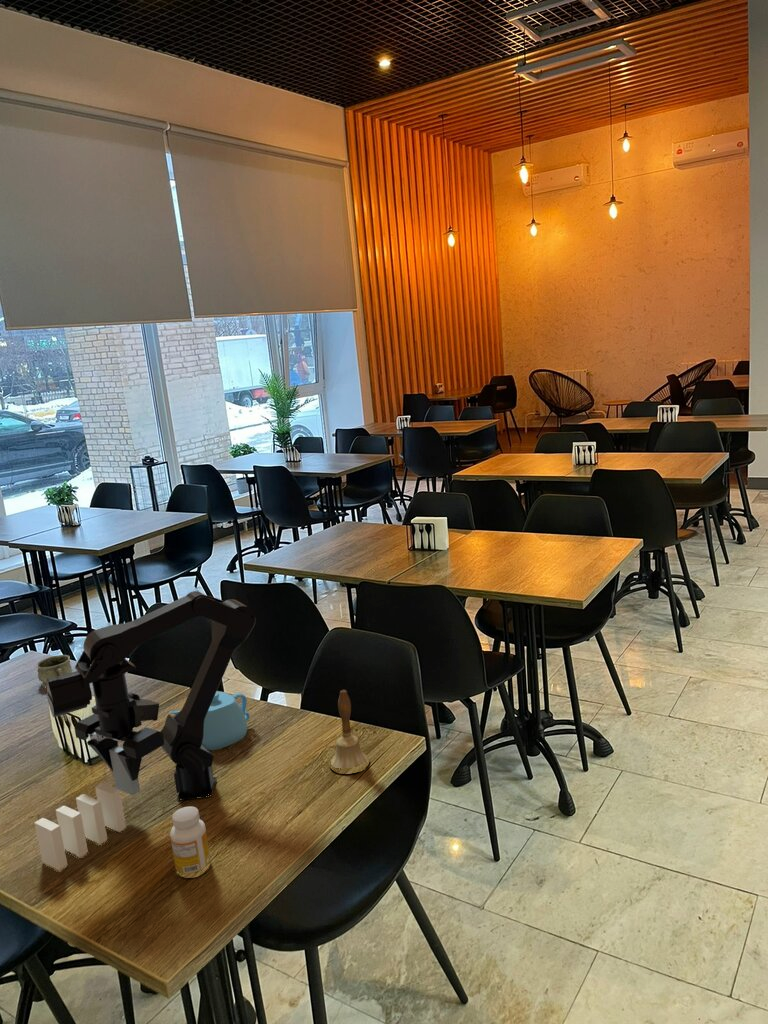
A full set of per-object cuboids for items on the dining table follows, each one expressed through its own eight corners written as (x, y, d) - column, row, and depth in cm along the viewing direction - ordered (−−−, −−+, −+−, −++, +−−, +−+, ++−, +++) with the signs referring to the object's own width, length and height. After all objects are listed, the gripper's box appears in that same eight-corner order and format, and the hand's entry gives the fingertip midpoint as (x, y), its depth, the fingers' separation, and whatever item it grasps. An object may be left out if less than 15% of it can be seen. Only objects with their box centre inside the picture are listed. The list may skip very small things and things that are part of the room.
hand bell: (345, 750, 161) (338, 679, 158) (378, 759, 156) (371, 686, 153) (320, 769, 155) (312, 696, 151) (353, 779, 150) (346, 704, 147)
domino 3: (90, 833, 140) (83, 793, 138) (107, 841, 137) (100, 800, 135) (83, 838, 138) (75, 798, 137) (100, 846, 136) (92, 805, 134)
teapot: (157, 700, 168) (232, 674, 178) (164, 745, 170) (237, 717, 181) (181, 719, 158) (258, 690, 169) (188, 766, 160) (264, 735, 171)
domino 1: (50, 858, 133) (42, 817, 132) (68, 867, 131) (59, 825, 129) (42, 863, 132) (34, 822, 130) (59, 873, 129) (51, 830, 128)
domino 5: (109, 821, 143) (102, 782, 141) (126, 828, 140) (119, 789, 138) (102, 826, 142) (95, 786, 140) (119, 833, 139) (112, 793, 137)
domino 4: (123, 784, 145) (116, 745, 143) (140, 791, 142) (133, 751, 141) (116, 788, 144) (109, 749, 142) (133, 795, 141) (126, 756, 139)
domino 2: (71, 845, 137) (63, 805, 135) (88, 854, 134) (80, 812, 132) (63, 850, 135) (55, 810, 134) (80, 859, 132) (72, 817, 131)
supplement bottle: (197, 853, 131) (189, 799, 129) (218, 865, 128) (210, 810, 126) (169, 872, 127) (160, 816, 125) (190, 884, 123) (181, 828, 121)
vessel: (80, 682, 209) (76, 661, 208) (46, 694, 203) (42, 671, 202) (66, 671, 218) (62, 650, 217) (33, 681, 213) (29, 660, 211)
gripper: (181, 689, 140) (193, 766, 144) (117, 672, 151) (129, 745, 154) (130, 715, 131) (144, 797, 135) (66, 696, 142) (81, 772, 145)
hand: (125, 776), depth 142 cm, fingers closed on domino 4, 5 cm apart
